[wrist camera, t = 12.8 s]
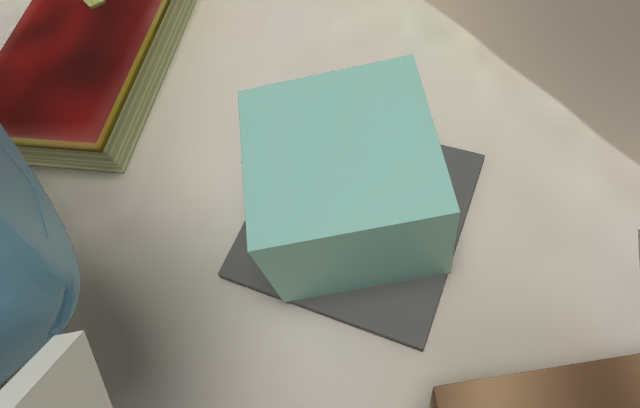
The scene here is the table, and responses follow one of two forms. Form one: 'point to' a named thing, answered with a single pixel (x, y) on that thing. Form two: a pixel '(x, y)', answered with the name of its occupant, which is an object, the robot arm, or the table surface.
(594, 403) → the walnut box
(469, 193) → the mat
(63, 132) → the hardcover book
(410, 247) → the mint green cube
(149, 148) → the table surface
